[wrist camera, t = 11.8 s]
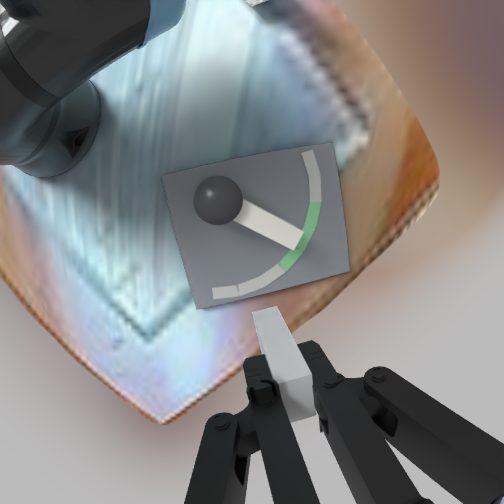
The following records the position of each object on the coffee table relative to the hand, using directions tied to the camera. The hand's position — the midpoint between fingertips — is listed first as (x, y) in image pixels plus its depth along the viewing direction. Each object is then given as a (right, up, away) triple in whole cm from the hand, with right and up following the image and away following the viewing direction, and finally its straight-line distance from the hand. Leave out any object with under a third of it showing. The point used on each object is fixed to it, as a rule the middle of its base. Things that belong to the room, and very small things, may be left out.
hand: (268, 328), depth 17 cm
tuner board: (0, +8, +21) cm, 23 cm away
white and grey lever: (-1, +9, +19) cm, 21 cm away
